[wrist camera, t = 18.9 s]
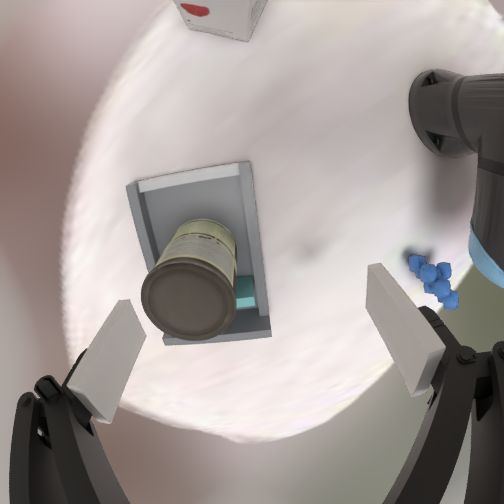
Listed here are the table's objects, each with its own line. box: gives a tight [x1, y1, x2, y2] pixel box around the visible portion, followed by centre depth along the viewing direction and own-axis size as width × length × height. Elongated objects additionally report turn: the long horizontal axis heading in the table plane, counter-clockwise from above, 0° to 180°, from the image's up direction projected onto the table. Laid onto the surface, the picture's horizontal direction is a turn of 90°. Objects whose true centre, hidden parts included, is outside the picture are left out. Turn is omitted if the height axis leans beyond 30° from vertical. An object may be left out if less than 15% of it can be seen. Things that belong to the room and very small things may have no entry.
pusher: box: [236, 276, 255, 308], centre depth 40 cm, size 2×13×6 cm, turn 97°
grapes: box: [409, 255, 458, 310], centre depth 38 cm, size 12×7×12 cm, turn 52°
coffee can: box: [141, 218, 238, 341], centre depth 34 cm, size 10×10×14 cm
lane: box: [126, 161, 272, 345], centre depth 38 cm, size 25×17×7 cm
